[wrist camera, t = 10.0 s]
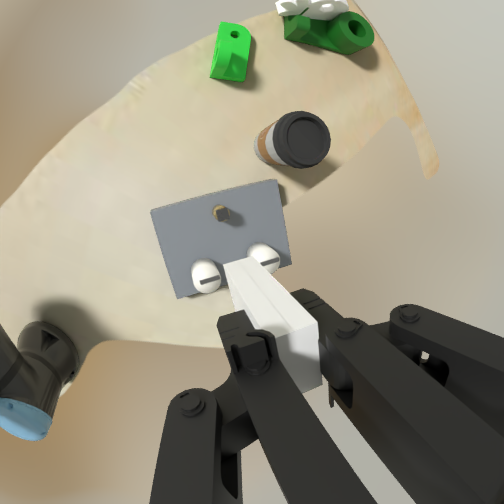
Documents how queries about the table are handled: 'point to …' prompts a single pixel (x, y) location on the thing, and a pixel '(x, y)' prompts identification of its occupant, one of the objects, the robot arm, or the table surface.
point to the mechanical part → (231, 52)
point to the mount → (219, 230)
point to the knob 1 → (205, 275)
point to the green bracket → (330, 32)
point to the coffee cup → (294, 141)
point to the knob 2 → (264, 256)
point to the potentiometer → (220, 213)
